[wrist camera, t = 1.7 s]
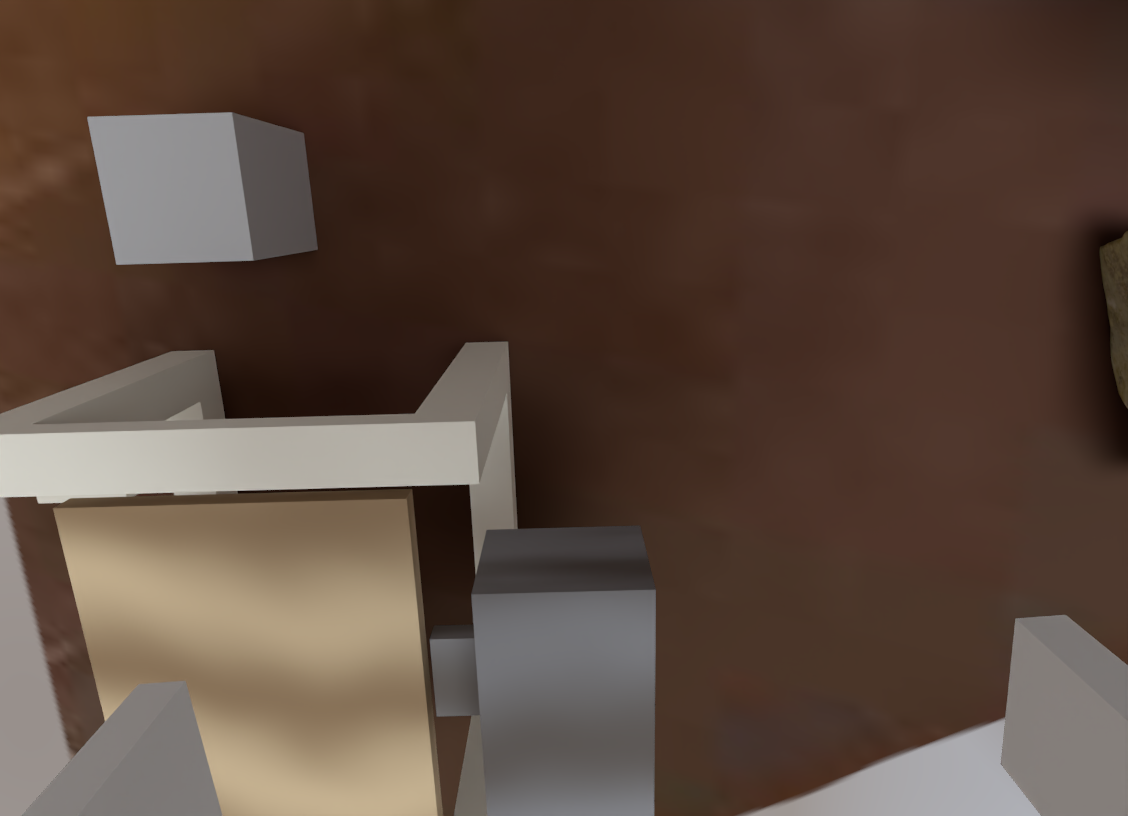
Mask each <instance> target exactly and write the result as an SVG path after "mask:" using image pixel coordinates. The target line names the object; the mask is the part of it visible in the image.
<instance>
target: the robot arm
mask: <svg viewBox="0 0 1128 816" xmlns="http://www.w3.org/2000/svg"><path fill="white" fill-rule="evenodd" d="M1002 748H1003V749H1002V757H1001V765H1002V766H1003V767H1004V769H1005V770H1006V771H1007V773H1008V774H1009V775H1010V776H1011V777H1012V779H1013V780H1014V781H1015V783H1016V784H1017V785H1018V787H1019V788H1020V789H1021V790H1022V792H1023V793H1024V794H1025V795H1026V797H1027V798H1028V799H1029V800H1030V802H1031V803H1032V804H1033V806H1034V807H1035V808H1036V809H1037V811H1038V812H1039V813H1040V815H1041V816H1128V665H1126V664H1125V663H1124V662H1123V661H1122V660H1120V659H1119V658H1118V657H1117V656H1115V655H1114V654H1113V653H1112V652H1110V651H1109V650H1108V649H1107V648H1106V647H1104V646H1103V645H1102V644H1101V643H1099V642H1098V641H1097V640H1096V639H1094V638H1093V637H1092V636H1091V635H1090V634H1088V633H1087V632H1086V631H1085V630H1083V629H1082V628H1081V627H1080V626H1079V625H1077V624H1076V623H1075V622H1074V621H1072V620H1071V619H1070V618H1069V617H1067V616H1066V615H1057V616H1044V617H1030V618H1017V619H1015V629H1014V639H1013V649H1012V659H1011V668H1010V678H1009V688H1008V698H1007V708H1006V718H1005V728H1004V737H1003V747H1002ZM22 816H222V812H221V808H220V805H219V801H218V797H217V794H216V790H215V786H214V783H213V779H212V775H211V772H210V768H209V764H208V761H207V757H206V753H205V750H204V746H203V742H202V739H201V735H200V731H199V728H198V724H197V721H196V717H195V713H194V710H193V706H192V702H191V699H190V695H189V691H188V688H187V684H186V681H175V682H162V683H148V684H138V685H137V687H136V688H135V689H134V690H133V691H132V692H131V693H130V694H129V696H128V697H127V698H126V699H125V700H124V701H123V702H122V703H121V705H120V706H119V707H118V708H117V709H116V710H115V711H114V712H113V714H112V715H111V716H110V717H109V718H108V719H107V720H106V721H105V722H104V724H103V725H102V726H101V727H100V728H99V729H98V730H97V731H96V733H95V734H94V735H93V736H92V737H91V738H90V739H89V740H88V742H87V743H86V744H85V745H84V746H83V747H82V748H81V749H80V751H79V752H78V753H77V754H76V755H75V756H74V757H73V758H72V759H71V761H70V762H69V763H68V764H67V765H66V766H65V768H63V770H62V771H61V772H60V773H59V774H58V775H57V776H56V777H55V779H54V780H53V781H52V782H51V783H50V784H49V785H48V786H47V788H46V789H45V790H44V791H43V792H42V793H41V794H40V795H39V796H38V798H37V799H36V800H35V801H34V802H33V803H32V804H31V805H30V807H29V808H28V809H27V810H26V811H25V812H24V813H23V814H22Z"/></svg>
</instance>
